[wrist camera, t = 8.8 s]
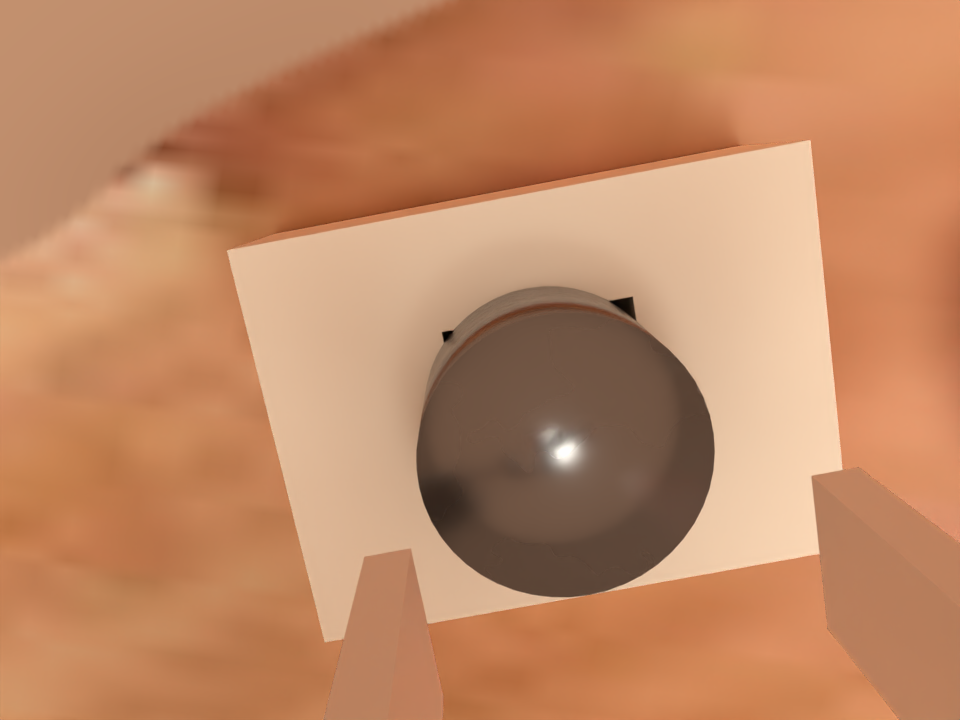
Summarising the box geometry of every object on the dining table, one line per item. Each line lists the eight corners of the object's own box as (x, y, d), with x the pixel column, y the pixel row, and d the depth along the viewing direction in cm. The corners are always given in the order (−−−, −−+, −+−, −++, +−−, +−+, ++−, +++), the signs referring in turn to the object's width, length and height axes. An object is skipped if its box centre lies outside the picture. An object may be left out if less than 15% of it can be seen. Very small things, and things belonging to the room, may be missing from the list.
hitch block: (349, 555, 32) (324, 642, 26) (273, 234, 29) (226, 250, 23) (778, 477, 32) (850, 548, 26) (740, 145, 29) (810, 139, 23)
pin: (451, 476, 31) (447, 620, 21) (413, 285, 29) (388, 344, 19) (645, 441, 31) (731, 569, 21) (616, 246, 29) (694, 286, 19)
